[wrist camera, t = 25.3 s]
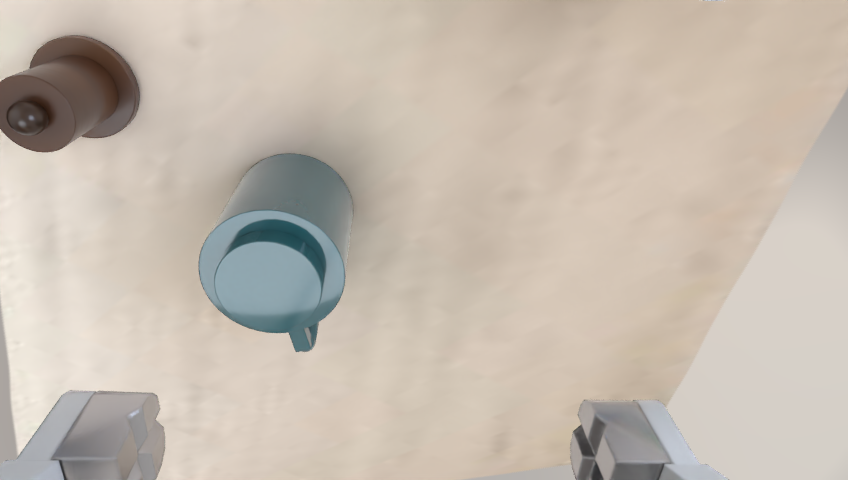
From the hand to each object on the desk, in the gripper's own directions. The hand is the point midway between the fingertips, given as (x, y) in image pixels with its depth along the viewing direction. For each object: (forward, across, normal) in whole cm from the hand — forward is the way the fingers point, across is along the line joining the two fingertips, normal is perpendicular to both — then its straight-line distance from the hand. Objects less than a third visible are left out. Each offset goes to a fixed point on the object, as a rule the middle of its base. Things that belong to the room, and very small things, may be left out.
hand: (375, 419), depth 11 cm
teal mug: (+33, +6, +12) cm, 36 cm away
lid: (+33, +20, +2) cm, 39 cm away
